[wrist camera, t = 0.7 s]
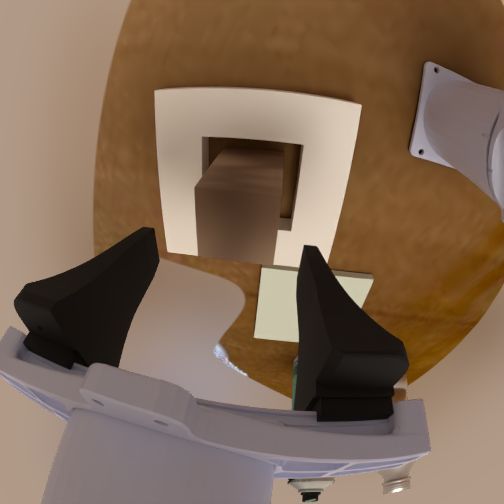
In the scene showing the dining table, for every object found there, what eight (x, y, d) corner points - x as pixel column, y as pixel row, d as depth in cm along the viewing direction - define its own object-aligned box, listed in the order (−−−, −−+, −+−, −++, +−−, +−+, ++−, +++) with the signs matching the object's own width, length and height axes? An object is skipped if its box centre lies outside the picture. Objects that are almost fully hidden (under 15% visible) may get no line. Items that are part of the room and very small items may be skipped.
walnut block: (283, 151, 20) (282, 195, 14) (277, 203, 23) (273, 265, 16) (224, 146, 20) (194, 187, 14) (223, 198, 23) (197, 256, 17)
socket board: (354, 101, 17) (361, 105, 15) (323, 256, 25) (325, 270, 24) (165, 88, 18) (154, 90, 16) (174, 239, 26) (167, 252, 24)
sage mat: (372, 274, 26) (373, 279, 25) (342, 339, 33) (342, 345, 32) (262, 262, 27) (261, 267, 26) (254, 332, 33) (254, 337, 32)
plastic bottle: (355, 377, 38) (361, 498, 22) (380, 355, 34) (395, 491, 18) (386, 381, 39) (397, 491, 23) (411, 360, 35) (431, 481, 19)
